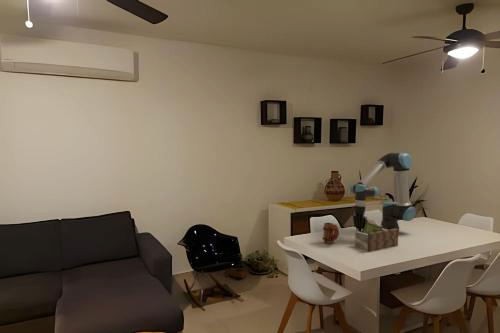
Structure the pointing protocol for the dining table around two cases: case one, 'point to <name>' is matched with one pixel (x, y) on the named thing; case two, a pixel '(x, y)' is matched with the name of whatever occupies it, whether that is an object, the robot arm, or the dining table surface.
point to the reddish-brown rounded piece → (330, 233)
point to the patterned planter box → (377, 239)
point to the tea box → (371, 226)
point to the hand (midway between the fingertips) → (358, 237)
